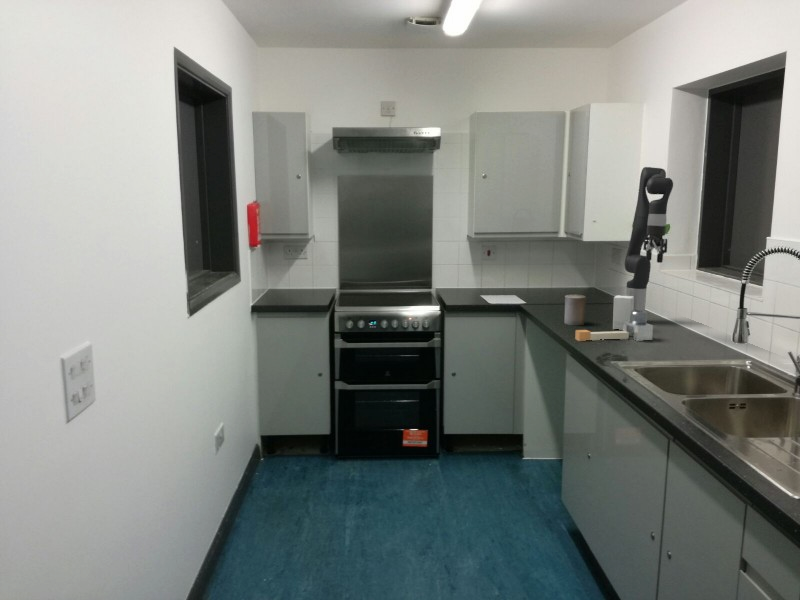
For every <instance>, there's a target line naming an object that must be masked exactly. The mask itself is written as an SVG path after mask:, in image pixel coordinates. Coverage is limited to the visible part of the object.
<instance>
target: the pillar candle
mask: <svg viewBox="0 0 800 600" xmlns="http://www.w3.org/2000/svg"><path fill="white" fill-rule="evenodd" d="M586 300H587V298H586V295H583V294H567V295H565V296H564V320H563V321H564V322H563V323H564V324H565V325H567V326H574V327H575V326H584V325H585V324H584V323H585V322H586V321H585V320H586Z"/></svg>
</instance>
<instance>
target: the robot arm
mask: <svg viewBox="0 0 800 600" xmlns="http://www.w3.org/2000/svg"><path fill="white" fill-rule="evenodd" d="M639 177H640V178H639V185H638V192H637V193H638V194H637V201H636V207H635V212H634V216H633V221H632V230H631V234H630V240H629V243H628V248H627V252H626V255H625V259H624V269H625V271H626V272H627V273H630V274H633V278H632V279H630V280H628V281H627V282H626V286H625V287H626V288H625V289H626V290H625V296H634V309H633V310H641V311H646V299H647V286H648V283H649V282H650V273H651V268H652V267H651V266H652V263H651V261H652V256H653V255H652V253H653V250H654V249H655V250H656V252H657V254H656V263H660V264H661V263H663V260H664V258H663V257H664V254H666V253H667V252H668V239H667V238H663V237H665V235H666V232H667V231H666V229H667V212H668V211H667V210H668V202H669V199H670V196H671V193H672V191H673V188H674V182H673V181H674V180H672V178H670V177H667V171H666V170H665V169H664V168H661V167H651V166H644V167H643V168H642V169H641V172H640V176H639ZM647 193H648V194H649V195H662V197H661V198H658V199H654V200H653V199H652V200H651V201H649V198H648V195H647ZM642 248H643V251H645V252H646V253H645V254H646V255H641V253H642Z"/></svg>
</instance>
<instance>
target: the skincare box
mask: <svg viewBox="0 0 800 600" xmlns="http://www.w3.org/2000/svg"><path fill="white" fill-rule="evenodd" d="M633 309H634V296H626V295H620V294H619V295H615V296H614V297H613V310H612V311H613V313H612V330H614V329H619V330H618V331H623V320H630V311H632V310H633Z"/></svg>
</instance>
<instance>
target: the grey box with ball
mask: <svg viewBox="0 0 800 600" xmlns="http://www.w3.org/2000/svg"><path fill="white" fill-rule="evenodd" d="M647 321H648V311H646V310H645V311H641V310H632V311H630V320H623V330H622V331H626V332H629V337H633V339H634V340H633V341H635V340H636V342H644V341H643V340H652V341H653V333H654V331H653V330H654V325H653V324H650V323H647Z"/></svg>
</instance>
